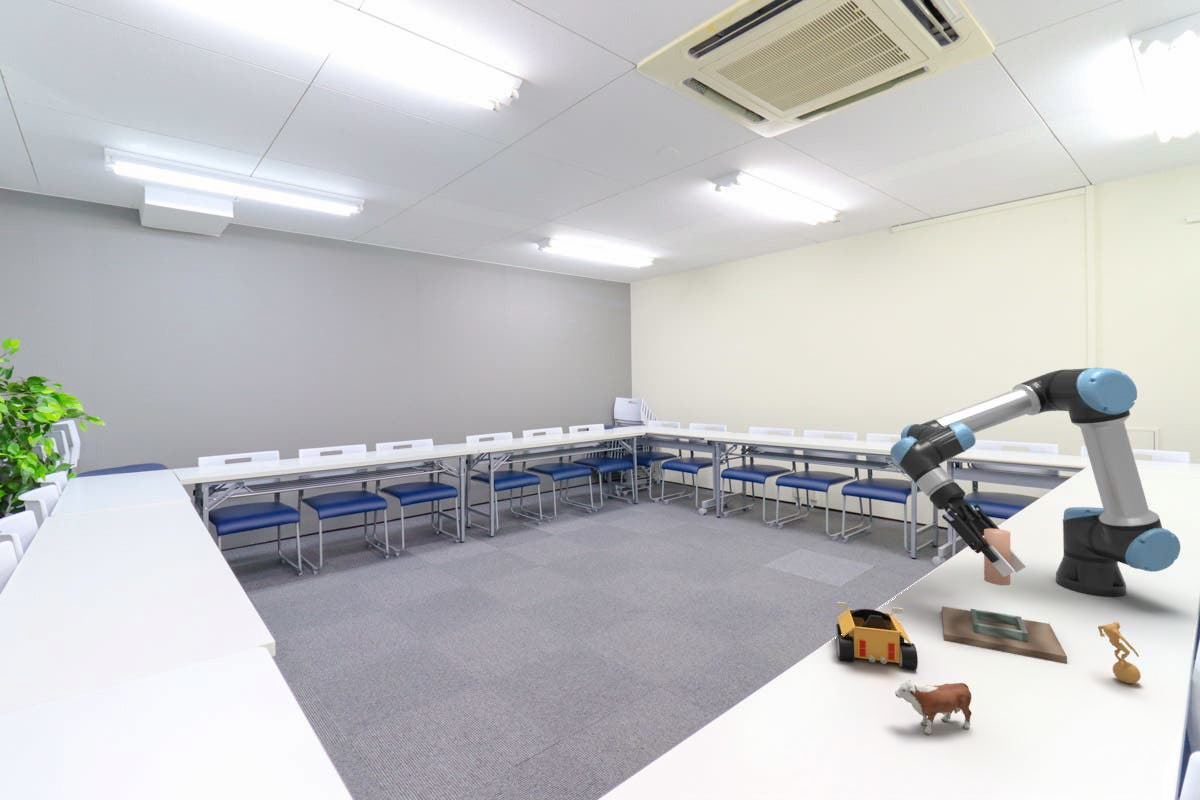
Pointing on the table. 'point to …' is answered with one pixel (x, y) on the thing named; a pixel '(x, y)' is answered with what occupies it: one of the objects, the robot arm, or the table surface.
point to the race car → (874, 637)
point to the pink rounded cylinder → (1002, 545)
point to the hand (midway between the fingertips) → (1015, 571)
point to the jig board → (1002, 633)
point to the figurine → (1121, 668)
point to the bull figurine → (937, 701)
